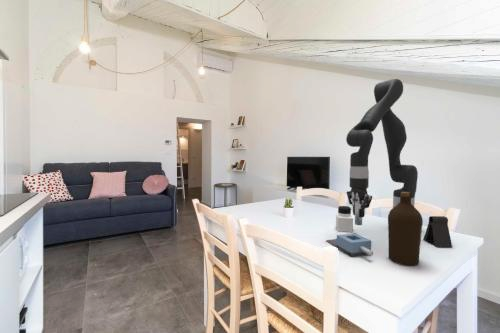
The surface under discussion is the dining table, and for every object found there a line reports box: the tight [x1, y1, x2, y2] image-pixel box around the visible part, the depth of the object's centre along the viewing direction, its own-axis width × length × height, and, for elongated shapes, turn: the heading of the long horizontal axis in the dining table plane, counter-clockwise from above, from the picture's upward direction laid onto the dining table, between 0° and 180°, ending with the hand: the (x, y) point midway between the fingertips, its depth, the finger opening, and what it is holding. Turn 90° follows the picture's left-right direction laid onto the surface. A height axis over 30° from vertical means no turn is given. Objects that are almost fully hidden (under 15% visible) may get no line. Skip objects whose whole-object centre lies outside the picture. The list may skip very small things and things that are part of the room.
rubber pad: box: [326, 238, 337, 248], centre depth 106 cm, size 7×7×1 cm
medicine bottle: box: [335, 205, 354, 233], centre depth 126 cm, size 7×7×12 cm
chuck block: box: [336, 232, 374, 258], centre depth 95 cm, size 9×14×6 cm, turn 16°
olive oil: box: [387, 192, 424, 267], centre depth 89 cm, size 11×11×25 cm
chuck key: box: [353, 195, 363, 226], centre depth 107 cm, size 5×3×13 cm, turn 106°
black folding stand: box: [422, 215, 453, 249], centre depth 106 cm, size 9×6×12 cm, turn 177°
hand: (358, 215), depth 107 cm, fingers closed on chuck key, 3 cm apart
